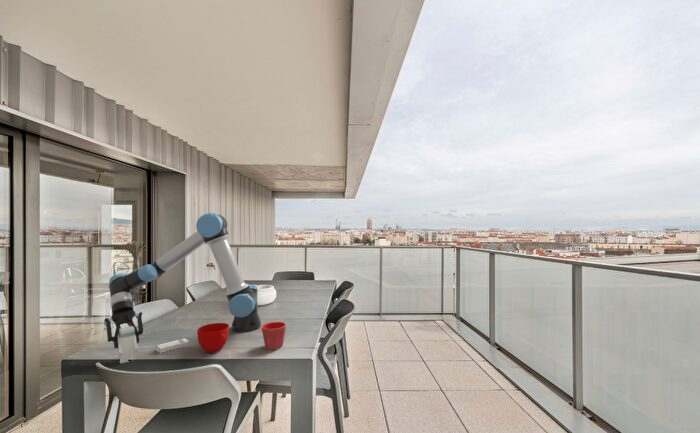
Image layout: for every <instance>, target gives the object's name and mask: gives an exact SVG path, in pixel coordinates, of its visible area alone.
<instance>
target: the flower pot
mask: <svg viewBox="0 0 700 433" xmlns="http://www.w3.org/2000/svg"><path fill="white" fill-rule="evenodd" d="M286 330H287V323H285V322H283V321H271V322H267V323H264V324H261V334H262V337H263V342H264V346H265V349H266V350H270V351H271V350H272V351H273V350H280V349H281V348H283V347H284V341H285V336H286Z"/></svg>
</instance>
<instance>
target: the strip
mask: <svg viewBox="0 0 700 433" xmlns="http://www.w3.org/2000/svg"><path fill="white" fill-rule="evenodd" d="M186 346H187V347H190V341H189V340H188V339H187V338H181V339H176V340H173V341H169V342H165V343H161V344H157V345H155V350H156V349H157V350H158V352H159V353H160V352H163V351H168V350H172V349H175V350H178V349H177V348H179V349H183V348H186ZM182 347H183V348H182ZM172 351H173V350H172ZM158 352H157V353H158ZM168 352H169V351H168ZM159 353H158V354H159Z"/></svg>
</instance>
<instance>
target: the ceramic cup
mask: <svg viewBox="0 0 700 433" xmlns="http://www.w3.org/2000/svg"><path fill="white" fill-rule="evenodd" d="M229 331H230V325H229V324H228V323H225V322H216V323H210V324H204V325H201V326H200V327H198V328H197V330H196V335H197V341H198V344H199V346H200V348H201V349H202V350H203V351H204V352H205V353H206V352H208V353H207V354H213V353H212V352H214V353H218V352H221V351H222V348H223V347H224V346H225V345H226V344H227V341H228V338H229V333H230V332H229ZM217 351H218V352H217Z"/></svg>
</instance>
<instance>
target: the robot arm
mask: <svg viewBox="0 0 700 433" xmlns="http://www.w3.org/2000/svg"><path fill="white" fill-rule="evenodd" d="M195 227H196V228H195V229H196V231H195V232H193V233H192V234H190V236H188V237H187V238H185V239H184V240H183V241H182V242H179V244H177V245H175V247H173V248H172V249H170V250H169V251H168V252H166V253H165V254H163V255H162V256H161V257H159V258H158V259H157V260H155V261H154V262H153V263H151V264H144V265H142V266H141V267H138V269H135V270H134V271H132V272H130V273H128V274H126V273H118V274H114V275H113V276H111V277H110V278H109V282H108V289H109V295H110V305H111V317H107V318H106V317H105V318H104V321H103V324H104V325H105V328H106V337H107V342H113V348H114V349H117V353H118V357H119V356H121V354H122V350H121V341H120V338H119V329H120V328H121V325H124V324H126V325H128V327H130V326H133V327H134V328H135V329H134V331H135V335H134V353H137V352H138V348H139V347H138V344H139V343H140V336H141V335H143V332H144V327H143V326H144V325H143V319H142V316H143V312H142V311H140V312H136V311H135V310H134V304H133V298H132V292H131V291H133V290H134V289H137V288H139V287H140V286H144V285H145V284H147V283H149V282H152V281H154V280H158V279H160V278H161V277H162V276H164V274H166V272H168V271H169V270H171V269H172V268H174V267H175V266H176V265H177V264H179V263H180V262H182V261H183V260H185V259H186V258H187V257H188V256H189V255H191V254H193V252H195V251H197V250H198V249H199V248H200V247H202V246H203V245H207V246H209V247H210V250H211V252H212V254H213V257H214V260H215V263H216V265H217V267H218V270H219V272H220V274H221V278H222V280H223V282H224V285H225V287H226V289H227V290H226V293H225V296H226V299H227V301H228V309H229V313H230V314H232V316H233V320H232V323H231V330H232V331H233V332H236V333H245V332H252V331H255V330H258V329H260V328H262V323H261V322H262V321H261V319H260V318H261V317H260V315H259V312H258V291H259V290H258V285H257V284H248V283H246V282H245V280H244V278H243V275H242V273H241V271H240V268H239V266H238V263H237V260H236V258H235V255H234V252H233V250H232V248H231V245H230V242H229V240H228V238H229V236H230V234H229V232H228V229H227V228H228V222H227V219H226V218H225V217H224V216H223V215H220V214H217V213H215V212H214V213H213V212H208V213H204V214H202V215H201V216H200V217H199V218H198V219H197V221H196V226H195ZM134 318H135V319H137V320H136V321H137V327H136V325H135V323H134V321H133V319H134ZM112 322H114V323H116V326H115V332H114V336H113V333H112V325H111V324H112ZM137 328H138V329H137Z"/></svg>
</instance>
